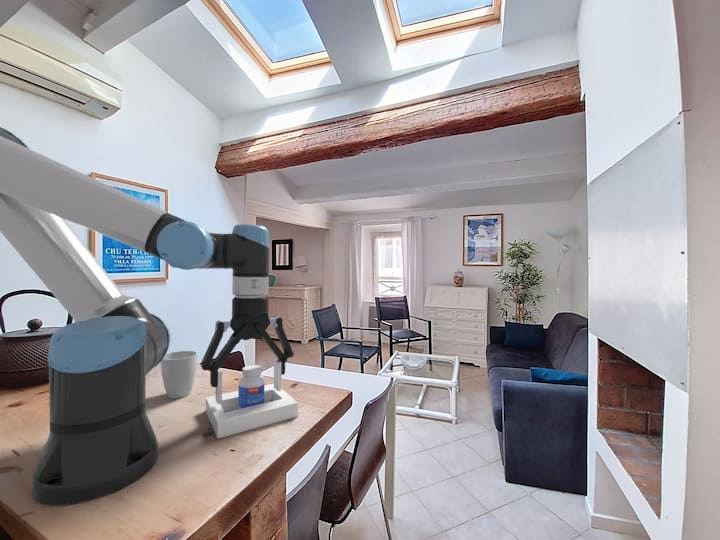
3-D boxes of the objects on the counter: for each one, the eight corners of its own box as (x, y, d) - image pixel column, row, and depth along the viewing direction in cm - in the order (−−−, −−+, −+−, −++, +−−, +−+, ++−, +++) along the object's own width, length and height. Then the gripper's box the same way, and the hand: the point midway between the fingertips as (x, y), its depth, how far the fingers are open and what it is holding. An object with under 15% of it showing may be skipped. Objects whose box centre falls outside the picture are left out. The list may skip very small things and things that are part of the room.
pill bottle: (247, 420, 66) (247, 373, 66) (233, 413, 70) (233, 368, 69) (269, 411, 71) (269, 367, 71) (254, 404, 74) (255, 362, 74)
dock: (217, 438, 60) (217, 422, 60) (201, 401, 76) (201, 389, 76) (297, 416, 69) (297, 402, 69) (267, 387, 85) (267, 376, 85)
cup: (203, 388, 84) (203, 351, 84) (184, 401, 76) (184, 359, 76) (175, 387, 85) (175, 350, 85) (152, 400, 77) (152, 359, 77)
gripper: (190, 300, 60) (189, 415, 60) (308, 295, 74) (307, 389, 74) (186, 297, 66) (185, 401, 66) (295, 293, 80) (294, 379, 80)
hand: (249, 395), depth 70 cm, fingers open, 12 cm apart
